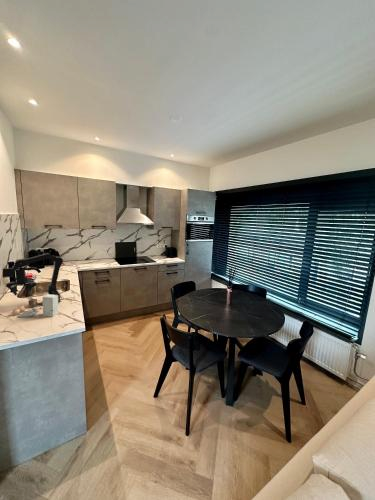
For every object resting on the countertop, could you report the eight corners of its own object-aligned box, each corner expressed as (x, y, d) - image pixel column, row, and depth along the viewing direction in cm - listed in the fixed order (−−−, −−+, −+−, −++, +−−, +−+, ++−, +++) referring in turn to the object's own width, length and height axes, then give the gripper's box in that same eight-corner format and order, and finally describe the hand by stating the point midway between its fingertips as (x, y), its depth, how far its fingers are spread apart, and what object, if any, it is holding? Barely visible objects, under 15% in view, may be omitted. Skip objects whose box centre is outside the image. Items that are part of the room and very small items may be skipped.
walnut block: (37, 305, 169) (36, 298, 168) (34, 307, 165) (33, 300, 164) (32, 306, 169) (31, 298, 168) (28, 308, 165) (28, 300, 164)
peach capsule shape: (21, 313, 155) (21, 308, 155) (17, 315, 151) (17, 310, 151) (15, 313, 155) (15, 308, 154) (11, 316, 151) (11, 310, 150)
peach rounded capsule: (25, 310, 160) (25, 305, 160) (22, 312, 156) (22, 307, 156) (20, 310, 160) (19, 305, 159) (16, 313, 156) (16, 307, 155)
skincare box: (42, 316, 152) (41, 296, 150) (48, 312, 158) (47, 293, 156) (53, 317, 151) (52, 297, 149) (59, 313, 157) (58, 294, 155)
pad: (38, 311, 159) (38, 310, 158) (30, 317, 150) (30, 316, 150) (25, 312, 157) (25, 311, 157) (17, 317, 149) (17, 316, 149)
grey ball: (38, 309, 162) (37, 306, 161) (35, 311, 159) (35, 307, 158) (33, 310, 161) (33, 306, 161) (31, 311, 158) (31, 308, 158)
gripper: (40, 273, 167) (41, 291, 170) (15, 272, 166) (16, 291, 168) (30, 277, 156) (32, 296, 159) (4, 276, 155) (6, 296, 157)
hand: (22, 295), depth 161 cm, fingers open, 9 cm apart
